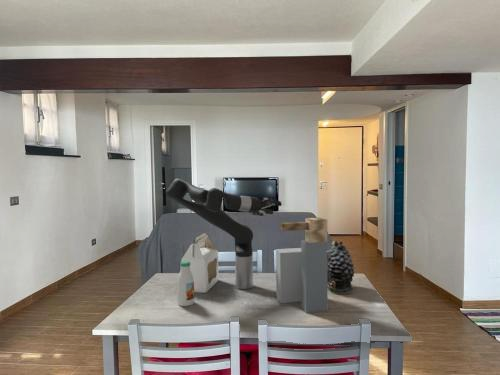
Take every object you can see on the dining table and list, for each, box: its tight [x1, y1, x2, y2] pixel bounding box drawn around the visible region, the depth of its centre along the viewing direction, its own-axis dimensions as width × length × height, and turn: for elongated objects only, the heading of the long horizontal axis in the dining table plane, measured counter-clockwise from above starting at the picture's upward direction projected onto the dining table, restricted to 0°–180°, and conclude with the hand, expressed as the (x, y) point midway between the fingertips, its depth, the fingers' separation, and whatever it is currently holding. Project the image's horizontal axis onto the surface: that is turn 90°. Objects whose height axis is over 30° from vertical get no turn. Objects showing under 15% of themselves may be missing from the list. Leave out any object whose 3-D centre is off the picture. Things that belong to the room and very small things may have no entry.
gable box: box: [181, 232, 219, 294], centre depth 190 cm, size 22×13×28 cm, turn 168°
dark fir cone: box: [327, 240, 355, 295], centre depth 182 cm, size 21×15×25 cm
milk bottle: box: [176, 261, 195, 307], centre depth 164 cm, size 8×8×20 cm
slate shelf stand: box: [275, 239, 329, 314], centre depth 162 cm, size 18×21×31 cm
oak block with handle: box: [280, 217, 328, 243], centre depth 153 cm, size 20×6×10 cm, turn 100°
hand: (276, 208), depth 170 cm, fingers open, 8 cm apart
